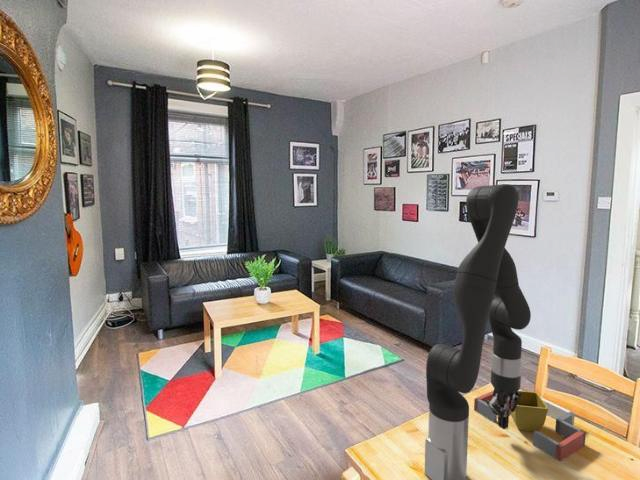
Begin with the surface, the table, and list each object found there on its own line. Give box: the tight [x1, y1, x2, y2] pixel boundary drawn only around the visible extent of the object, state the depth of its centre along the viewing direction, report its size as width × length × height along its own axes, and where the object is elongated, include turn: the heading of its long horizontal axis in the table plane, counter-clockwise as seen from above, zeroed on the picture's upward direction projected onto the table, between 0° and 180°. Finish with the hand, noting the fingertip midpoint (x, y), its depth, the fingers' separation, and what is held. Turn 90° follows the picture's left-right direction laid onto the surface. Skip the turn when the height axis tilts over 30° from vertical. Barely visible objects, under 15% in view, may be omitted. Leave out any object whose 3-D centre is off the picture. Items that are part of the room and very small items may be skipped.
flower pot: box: [510, 390, 548, 432], centre depth 109 cm, size 9×9×9 cm
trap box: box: [473, 390, 587, 462], centre depth 111 cm, size 26×19×4 cm
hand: (503, 426), depth 104 cm, fingers closed
